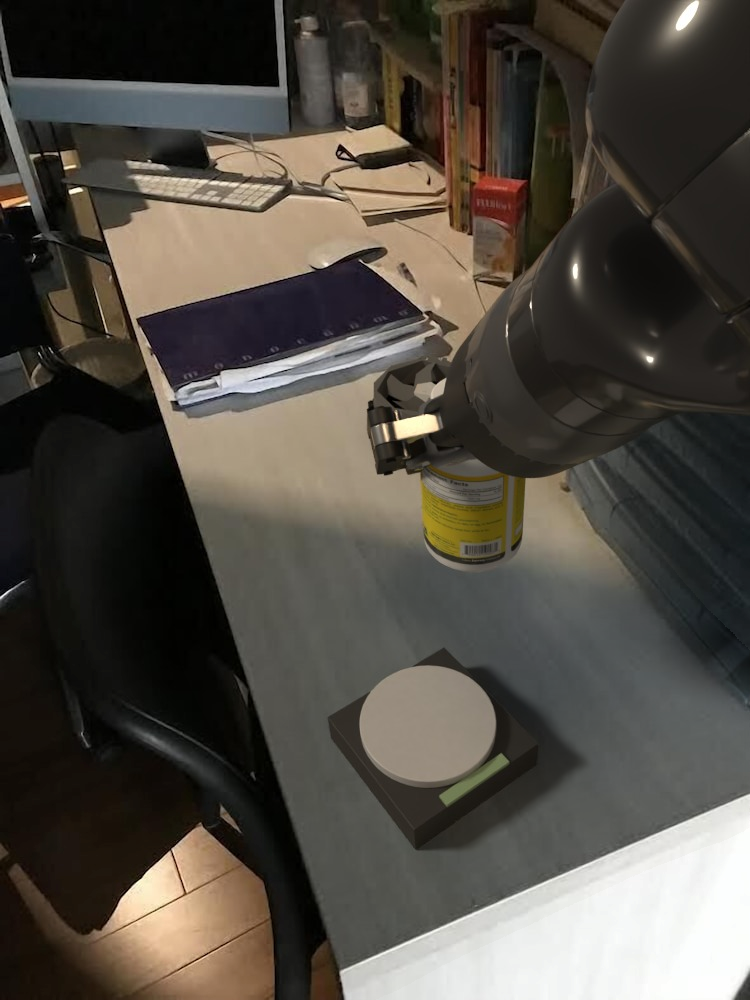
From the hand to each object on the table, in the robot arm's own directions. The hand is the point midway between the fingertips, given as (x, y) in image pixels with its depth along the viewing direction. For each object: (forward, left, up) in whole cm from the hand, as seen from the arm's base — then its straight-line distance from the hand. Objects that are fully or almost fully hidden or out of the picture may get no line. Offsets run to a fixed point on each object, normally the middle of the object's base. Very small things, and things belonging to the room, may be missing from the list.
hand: (462, 445), depth 50 cm
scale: (-5, +7, -20) cm, 22 cm away
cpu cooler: (+25, -15, -20) cm, 36 cm away
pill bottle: (-2, +1, -6) cm, 7 cm away
